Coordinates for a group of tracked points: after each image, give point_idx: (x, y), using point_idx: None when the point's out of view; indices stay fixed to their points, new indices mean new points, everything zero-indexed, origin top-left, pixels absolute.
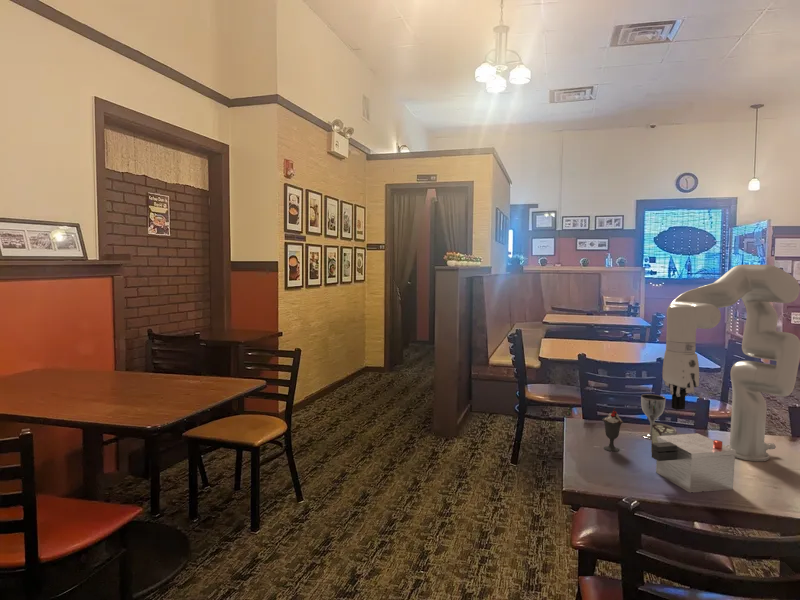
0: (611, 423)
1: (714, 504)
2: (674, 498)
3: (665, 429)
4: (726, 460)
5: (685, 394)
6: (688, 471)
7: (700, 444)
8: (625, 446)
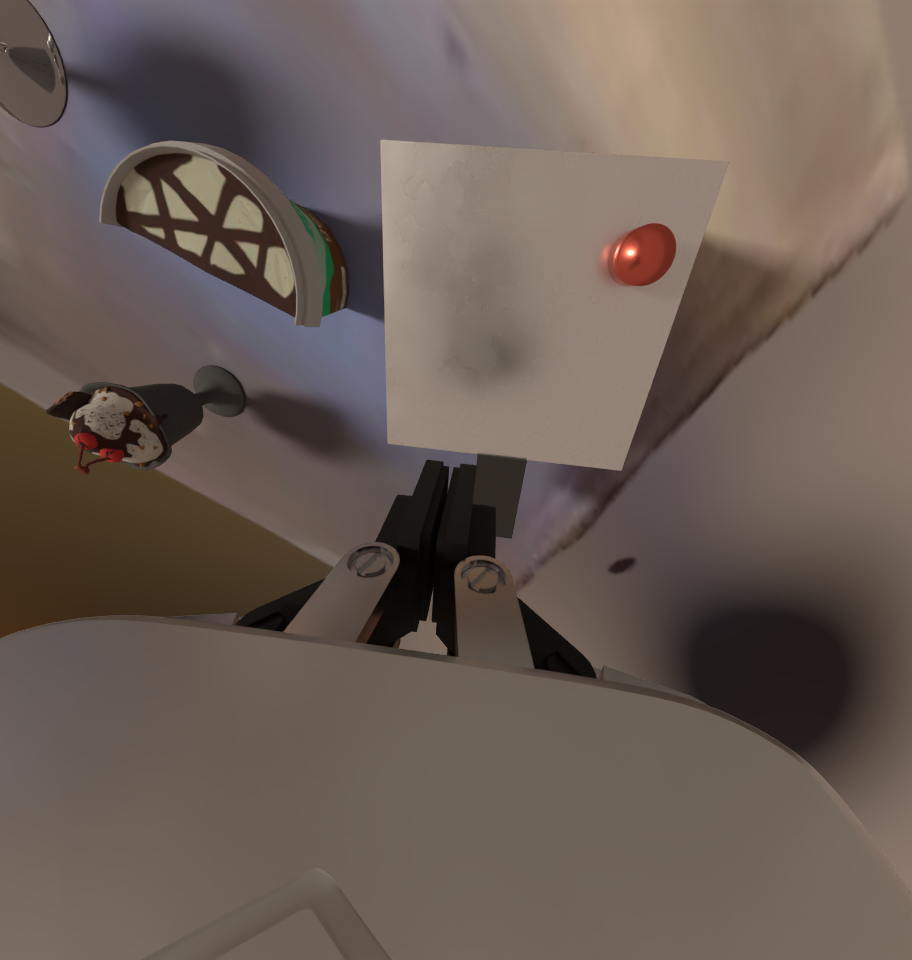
0: (165, 456)
1: (672, 401)
2: (588, 478)
3: (194, 204)
4: None
5: (530, 627)
6: None
7: (550, 321)
8: (183, 316)
